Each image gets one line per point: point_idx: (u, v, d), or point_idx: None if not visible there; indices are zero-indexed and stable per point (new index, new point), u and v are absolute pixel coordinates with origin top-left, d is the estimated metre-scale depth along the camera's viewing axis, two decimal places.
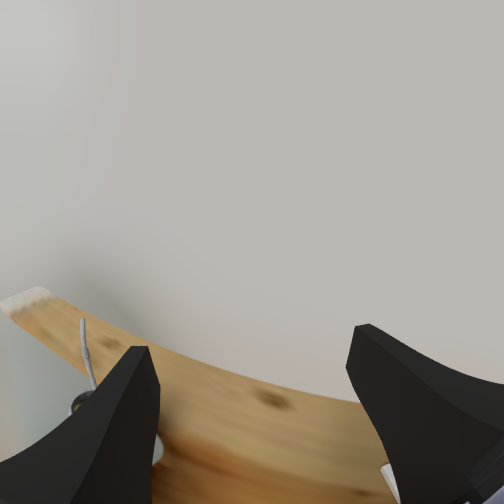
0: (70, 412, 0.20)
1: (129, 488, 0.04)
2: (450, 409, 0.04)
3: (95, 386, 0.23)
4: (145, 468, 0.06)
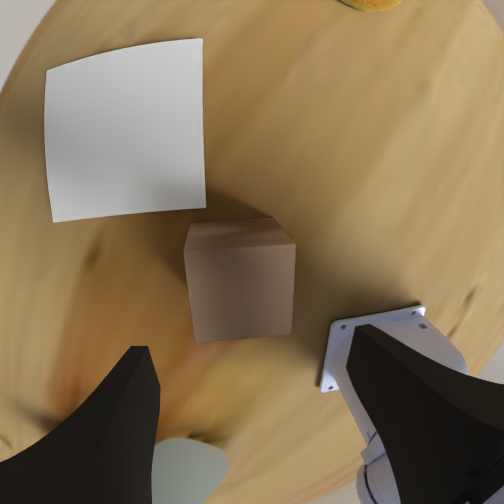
0: None
1: (129, 488, 0.04)
2: (449, 409, 0.04)
3: None
4: (145, 468, 0.06)
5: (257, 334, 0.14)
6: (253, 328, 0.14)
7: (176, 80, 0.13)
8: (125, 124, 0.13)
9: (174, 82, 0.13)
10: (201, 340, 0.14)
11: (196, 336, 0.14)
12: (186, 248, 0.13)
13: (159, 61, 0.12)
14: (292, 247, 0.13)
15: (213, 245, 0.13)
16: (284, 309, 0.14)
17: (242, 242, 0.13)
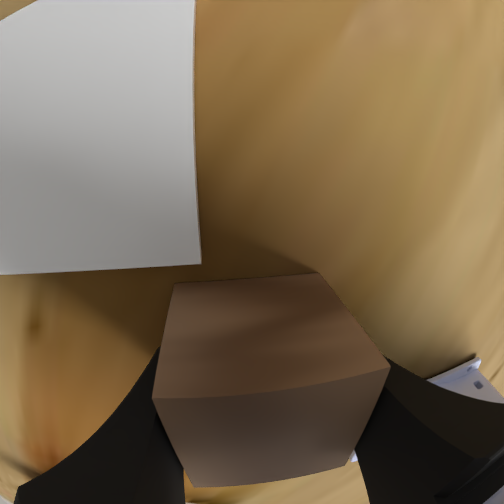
0: None
1: (169, 492, 0.04)
2: (416, 426, 0.04)
3: None
4: (179, 470, 0.06)
5: (294, 475, 0.07)
6: (288, 472, 0.07)
7: (144, 23, 0.06)
8: (52, 110, 0.06)
9: (140, 27, 0.06)
10: (203, 486, 0.06)
11: (194, 483, 0.06)
12: (159, 386, 0.05)
13: None
14: (383, 372, 0.05)
15: (219, 379, 0.05)
16: (343, 448, 0.06)
17: (281, 367, 0.06)
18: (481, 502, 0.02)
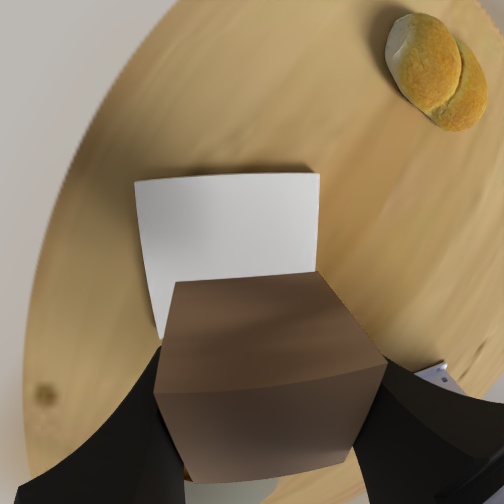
0: None
1: (169, 492, 0.04)
2: (416, 426, 0.04)
3: None
4: (179, 470, 0.06)
5: (293, 472, 0.07)
6: (287, 468, 0.07)
7: (294, 220, 0.16)
8: (242, 261, 0.16)
9: (292, 222, 0.16)
10: (203, 482, 0.07)
11: (194, 479, 0.07)
12: (160, 381, 0.05)
13: (277, 197, 0.15)
14: (380, 369, 0.05)
15: (219, 374, 0.05)
16: (342, 444, 0.07)
17: (280, 363, 0.06)
18: (481, 502, 0.02)
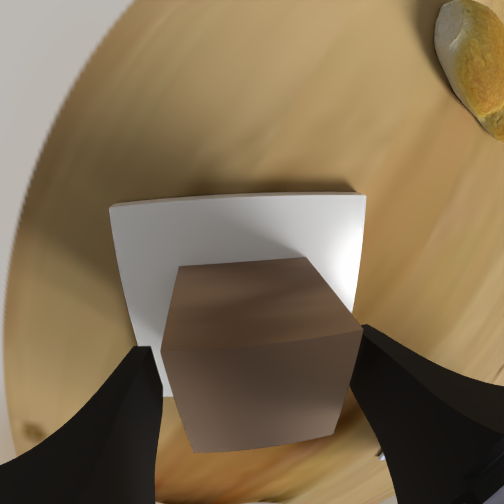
0: None
1: (133, 488, 0.04)
2: (447, 411, 0.04)
3: None
4: (148, 468, 0.06)
5: (285, 441, 0.08)
6: (279, 437, 0.08)
7: (331, 258, 0.11)
8: None
9: (328, 261, 0.12)
10: (202, 451, 0.08)
11: (194, 447, 0.08)
12: (166, 342, 0.06)
13: (310, 228, 0.11)
14: (357, 335, 0.07)
15: (216, 336, 0.07)
16: (329, 413, 0.08)
17: (268, 327, 0.07)
18: None
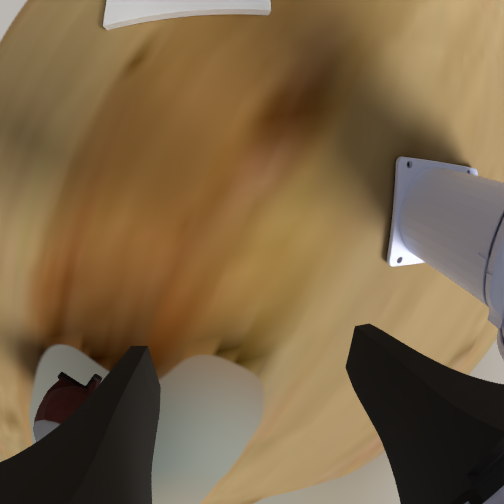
0: None
1: (129, 488, 0.04)
2: (449, 409, 0.04)
3: None
4: (145, 468, 0.06)
5: None
6: None
7: None
8: None
9: None
10: None
11: None
12: None
13: None
14: None
15: None
16: None
17: None
18: None
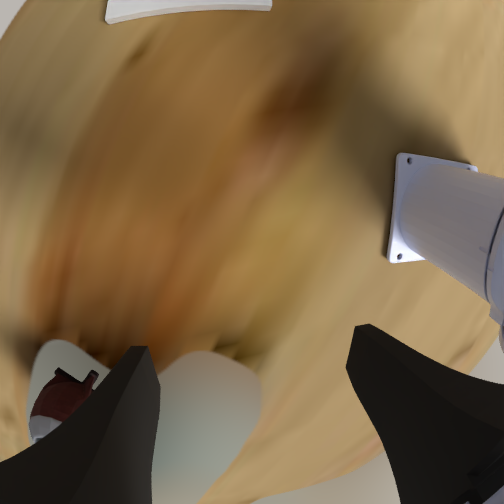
0: None
1: (129, 488, 0.04)
2: (449, 409, 0.04)
3: None
4: (145, 468, 0.06)
5: None
6: None
7: None
8: None
9: None
10: None
11: None
12: None
13: None
14: None
15: None
16: None
17: None
18: None
